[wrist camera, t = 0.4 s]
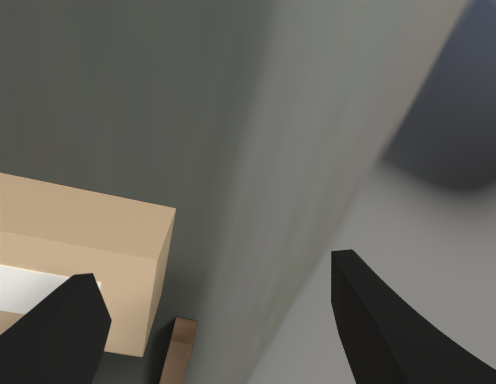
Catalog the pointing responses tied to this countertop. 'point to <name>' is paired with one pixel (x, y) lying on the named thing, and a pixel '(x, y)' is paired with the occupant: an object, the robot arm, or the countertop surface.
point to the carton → (83, 253)
